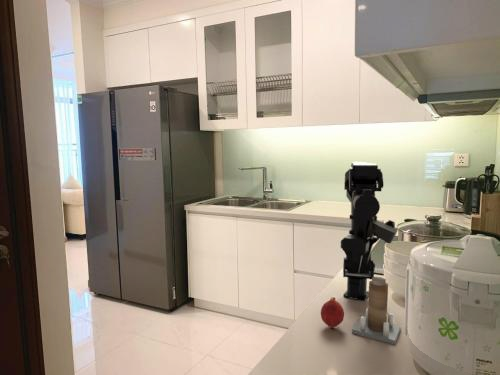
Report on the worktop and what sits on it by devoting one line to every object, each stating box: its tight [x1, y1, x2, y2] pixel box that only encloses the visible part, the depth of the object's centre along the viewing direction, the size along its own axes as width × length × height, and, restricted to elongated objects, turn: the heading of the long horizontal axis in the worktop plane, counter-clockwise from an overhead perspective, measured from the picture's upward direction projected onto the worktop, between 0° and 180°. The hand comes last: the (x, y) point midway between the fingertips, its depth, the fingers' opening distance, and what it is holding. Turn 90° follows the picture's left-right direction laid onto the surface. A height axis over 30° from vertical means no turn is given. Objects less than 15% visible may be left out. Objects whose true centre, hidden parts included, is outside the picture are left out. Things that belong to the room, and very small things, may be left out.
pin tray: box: [351, 307, 402, 345], centre depth 88 cm, size 8×10×4 cm
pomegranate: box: [320, 296, 345, 329], centre depth 90 cm, size 6×6×8 cm
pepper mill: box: [367, 276, 389, 332], centre depth 88 cm, size 4×4×12 cm
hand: (361, 268), depth 96 cm, fingers open, 9 cm apart
